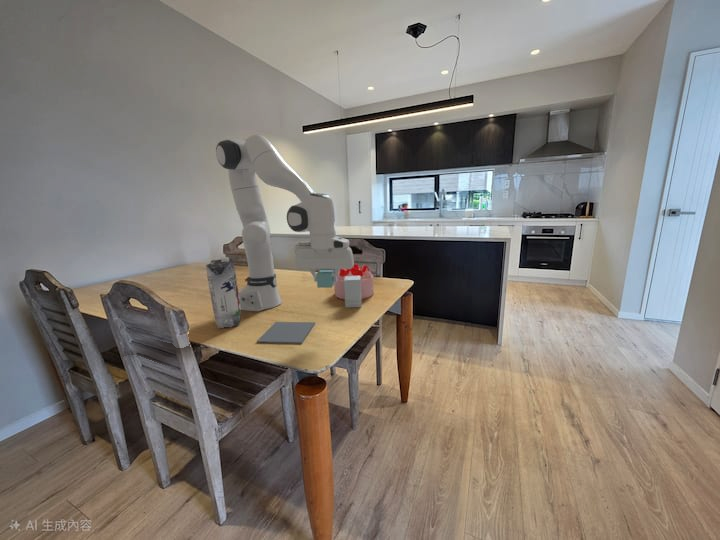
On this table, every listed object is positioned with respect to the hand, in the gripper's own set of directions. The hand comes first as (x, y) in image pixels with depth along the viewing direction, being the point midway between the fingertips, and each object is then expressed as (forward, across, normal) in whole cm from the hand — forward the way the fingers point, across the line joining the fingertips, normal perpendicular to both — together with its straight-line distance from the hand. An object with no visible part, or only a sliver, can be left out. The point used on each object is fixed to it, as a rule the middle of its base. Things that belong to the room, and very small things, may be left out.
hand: (326, 281), depth 101 cm
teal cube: (+2, 0, 0) cm, 2 cm away
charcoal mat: (+19, -15, -3) cm, 24 cm away
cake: (+19, +3, +41) cm, 45 cm away
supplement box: (+19, +5, +26) cm, 32 cm away
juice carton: (+19, -42, +4) cm, 46 cm away
